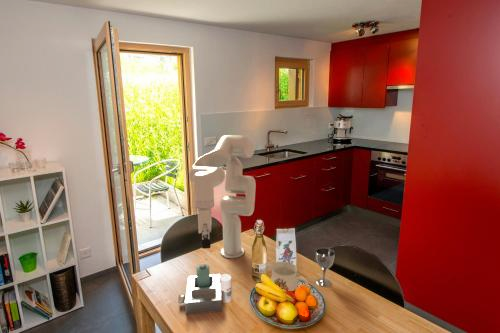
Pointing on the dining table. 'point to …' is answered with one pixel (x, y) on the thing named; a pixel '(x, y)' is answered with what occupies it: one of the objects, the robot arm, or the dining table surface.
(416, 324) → the dining table surface
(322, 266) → the wine glass
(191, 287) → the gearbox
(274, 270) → the pitcher
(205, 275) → the green drinking glass
